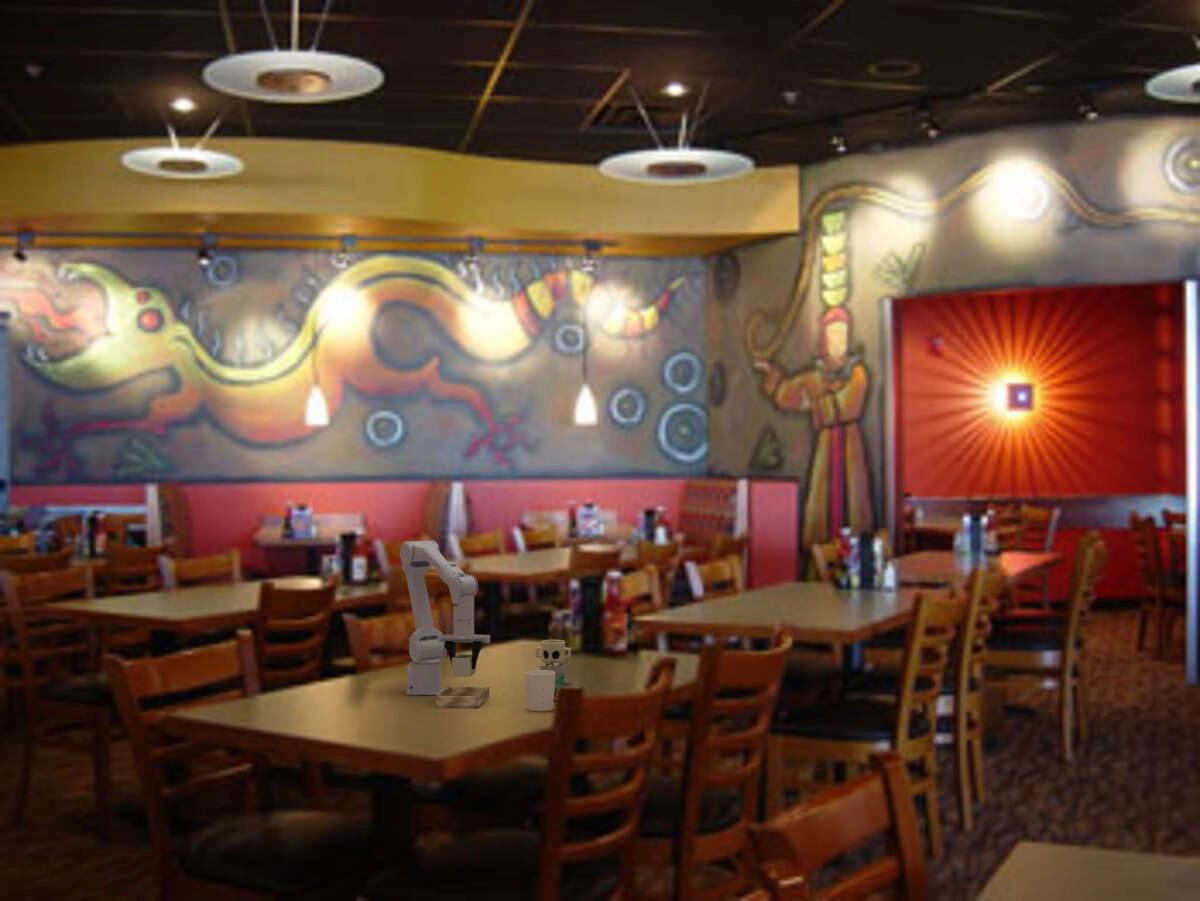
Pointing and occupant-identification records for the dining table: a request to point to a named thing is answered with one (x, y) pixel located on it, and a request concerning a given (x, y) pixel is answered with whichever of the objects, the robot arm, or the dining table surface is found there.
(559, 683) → the food container
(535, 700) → the white cup
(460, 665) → the small crate
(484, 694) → the big crate
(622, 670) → the dining table surface
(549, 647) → the character mug
